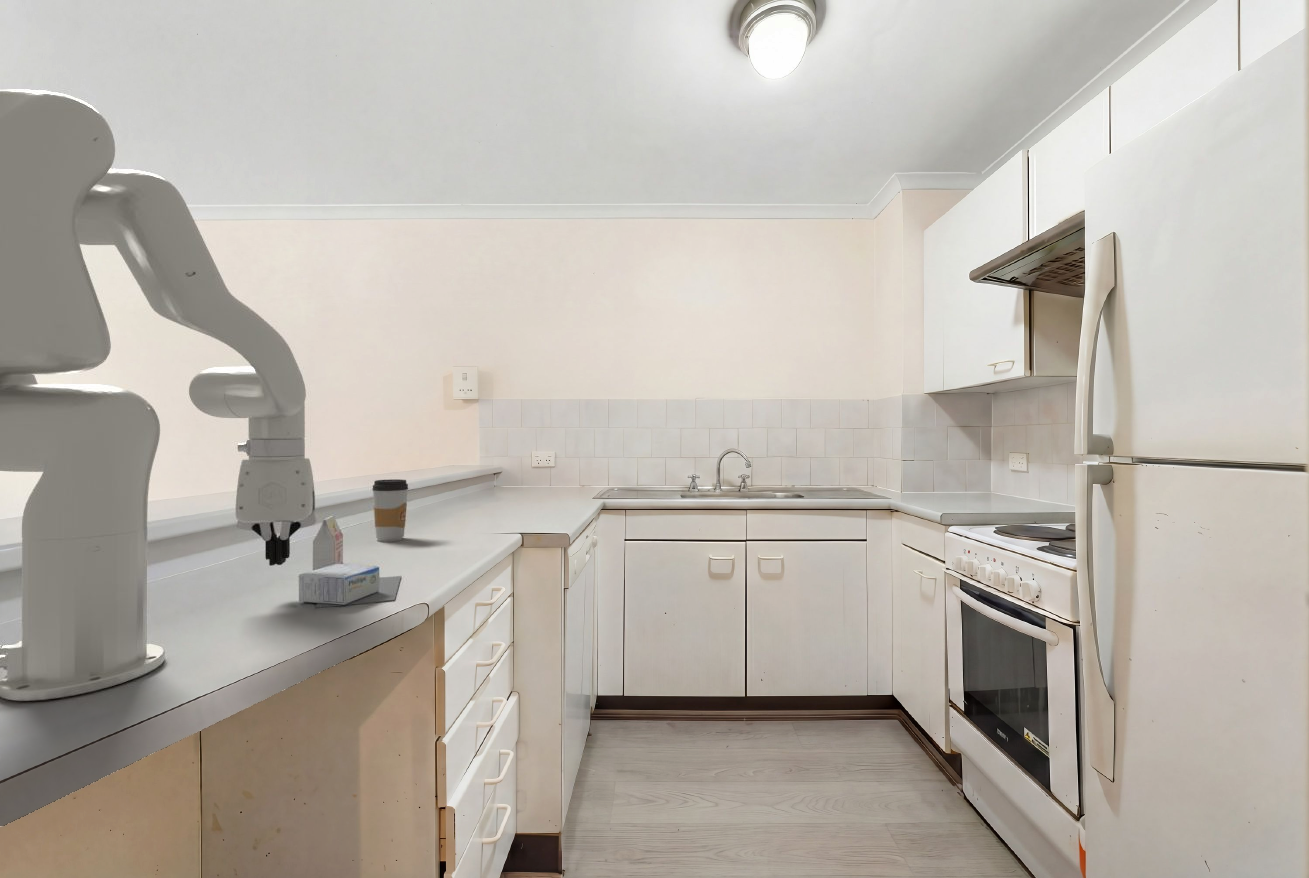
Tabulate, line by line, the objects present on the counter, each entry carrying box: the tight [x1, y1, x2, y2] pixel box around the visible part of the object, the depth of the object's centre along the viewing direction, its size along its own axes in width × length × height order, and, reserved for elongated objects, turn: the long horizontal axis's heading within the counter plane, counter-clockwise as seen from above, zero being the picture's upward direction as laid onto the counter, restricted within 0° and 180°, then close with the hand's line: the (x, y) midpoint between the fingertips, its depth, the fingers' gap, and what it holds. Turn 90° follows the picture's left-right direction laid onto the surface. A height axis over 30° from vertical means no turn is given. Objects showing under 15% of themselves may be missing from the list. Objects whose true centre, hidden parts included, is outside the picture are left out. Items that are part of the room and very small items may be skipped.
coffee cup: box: [371, 478, 409, 543], centre depth 141 cm, size 8×8×15 cm
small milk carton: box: [312, 515, 344, 571], centre depth 110 cm, size 4×7×10 cm, turn 17°
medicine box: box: [298, 563, 380, 606], centre depth 90 cm, size 8×4×9 cm
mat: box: [314, 575, 402, 609], centre depth 94 cm, size 11×16×1 cm
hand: (277, 563), depth 90 cm, fingers closed
